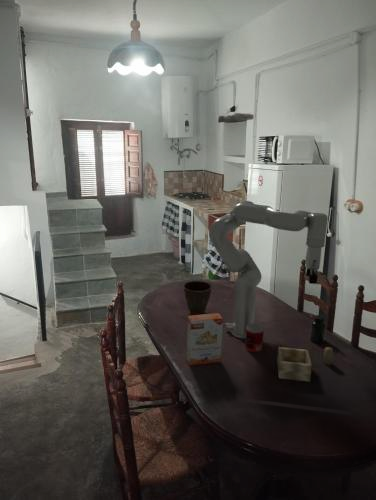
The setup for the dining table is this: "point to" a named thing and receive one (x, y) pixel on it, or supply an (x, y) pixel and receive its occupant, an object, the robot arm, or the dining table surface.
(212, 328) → the cracker box
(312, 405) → the dining table surface
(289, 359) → the pine box
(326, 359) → the lid
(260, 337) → the canned food
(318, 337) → the supplement bottle
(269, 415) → the dining table surface
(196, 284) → the plant pot
